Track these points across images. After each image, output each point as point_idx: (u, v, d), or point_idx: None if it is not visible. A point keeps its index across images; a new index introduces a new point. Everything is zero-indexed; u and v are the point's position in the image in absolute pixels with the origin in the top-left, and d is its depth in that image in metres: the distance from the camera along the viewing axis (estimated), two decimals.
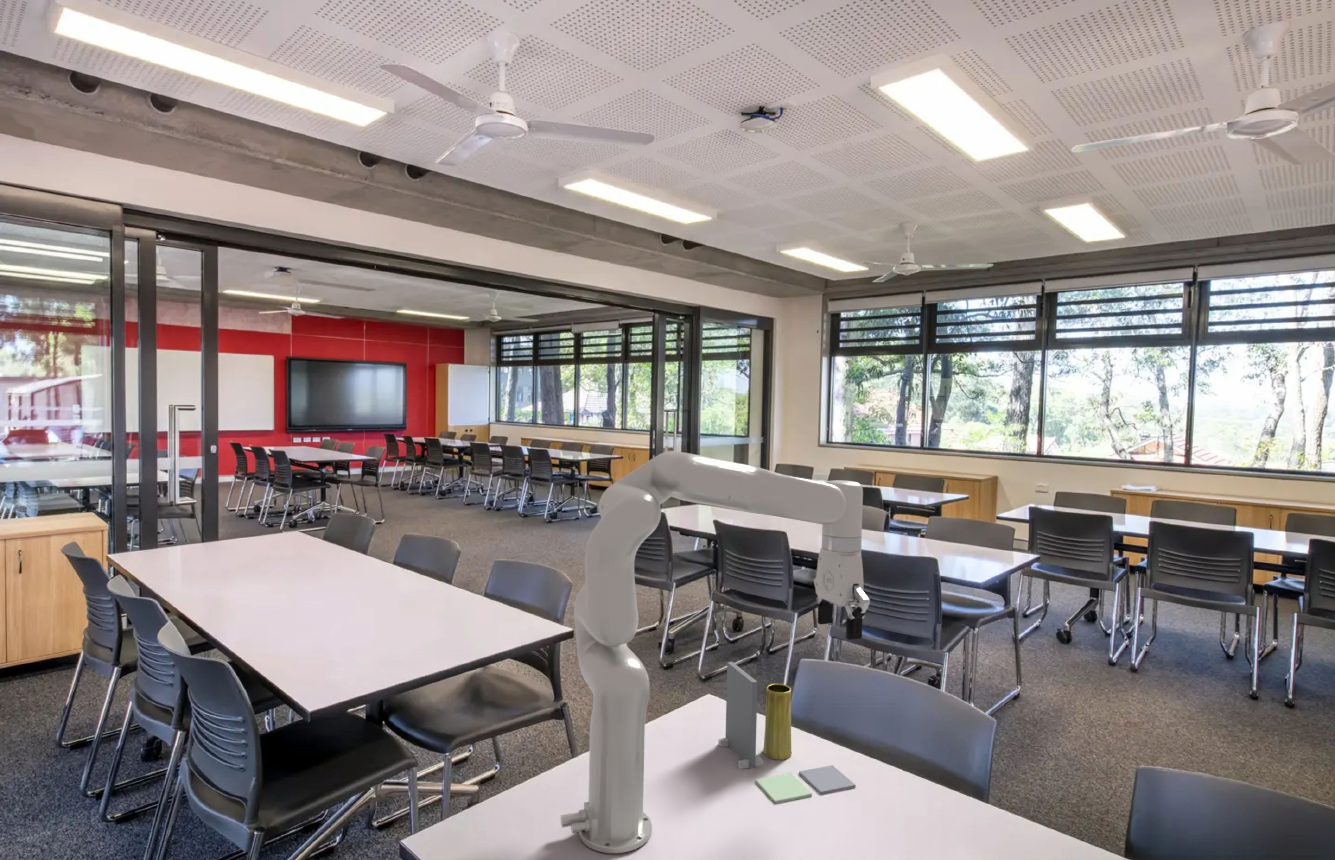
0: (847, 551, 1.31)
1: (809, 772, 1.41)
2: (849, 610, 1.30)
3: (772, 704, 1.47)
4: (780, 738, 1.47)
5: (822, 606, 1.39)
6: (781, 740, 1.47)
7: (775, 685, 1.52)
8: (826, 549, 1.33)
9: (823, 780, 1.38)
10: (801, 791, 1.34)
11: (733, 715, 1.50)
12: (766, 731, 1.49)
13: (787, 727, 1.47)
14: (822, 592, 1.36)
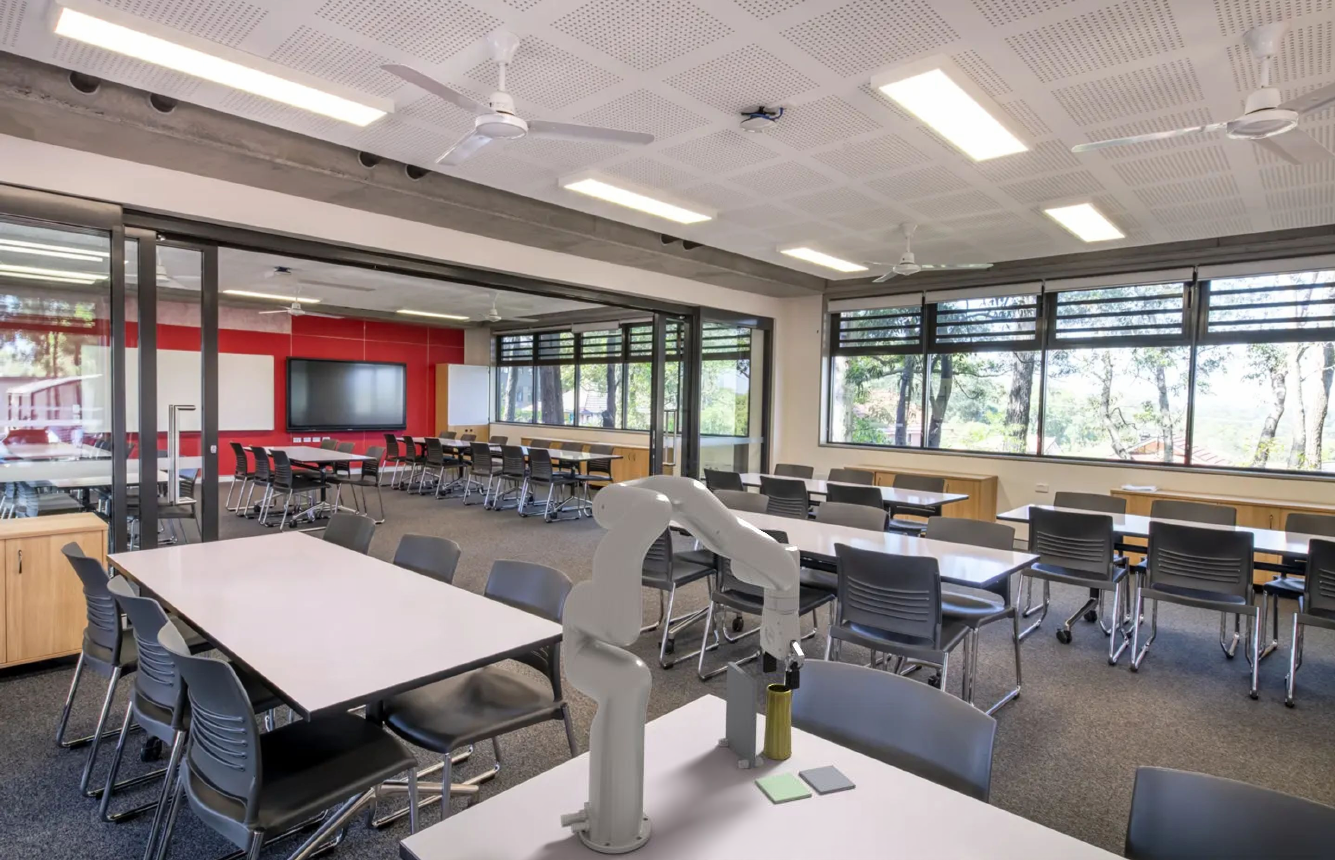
0: (785, 610, 1.45)
1: (809, 772, 1.41)
2: (787, 664, 1.44)
3: (772, 704, 1.47)
4: (780, 738, 1.47)
5: (766, 656, 1.53)
6: (781, 740, 1.47)
7: (775, 685, 1.52)
8: (767, 607, 1.47)
9: (823, 780, 1.38)
10: (801, 791, 1.34)
11: (733, 715, 1.50)
12: (766, 731, 1.49)
13: (787, 727, 1.47)
14: (765, 645, 1.50)
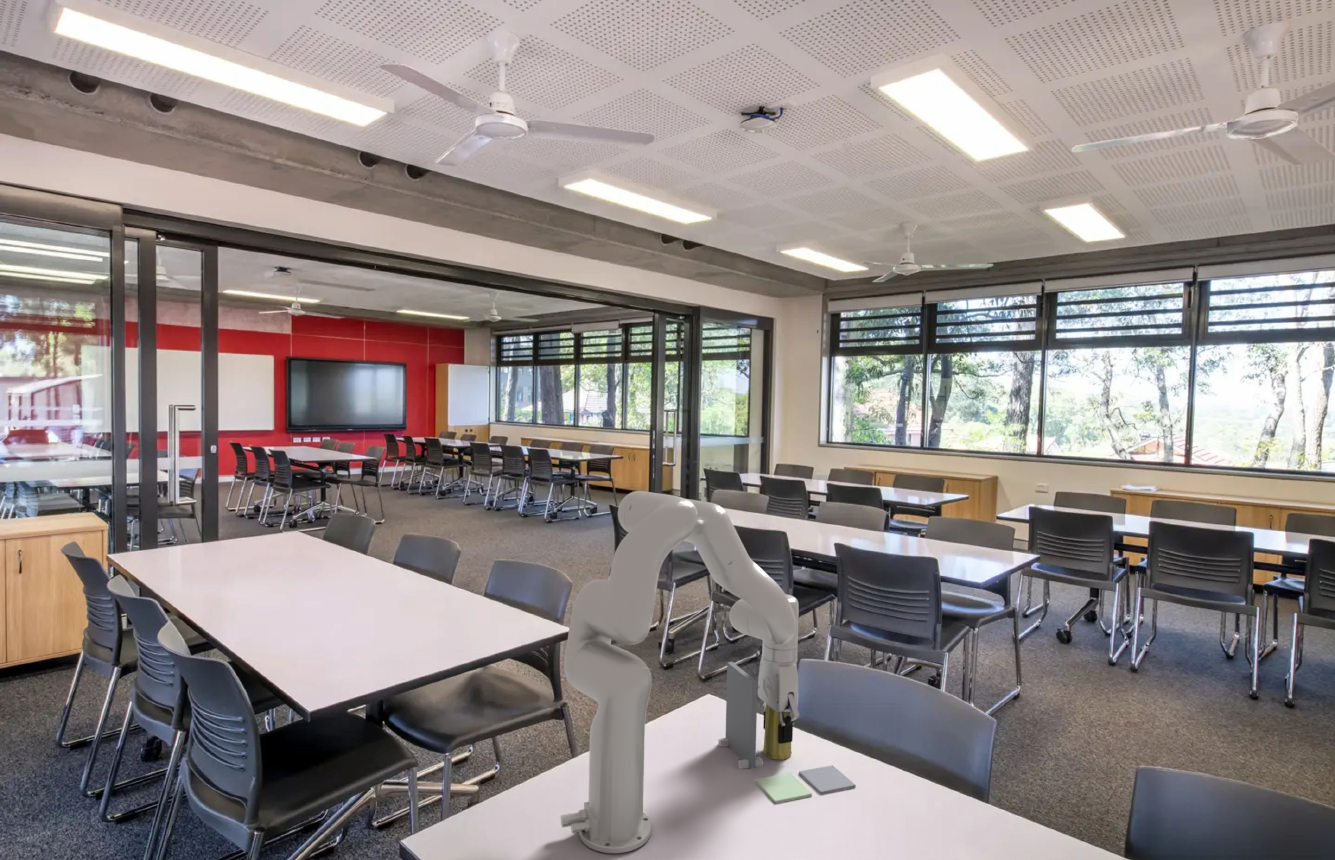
0: (783, 662, 1.45)
1: (809, 772, 1.41)
2: (781, 717, 1.45)
3: None
4: None
5: None
6: None
7: None
8: (765, 658, 1.47)
9: (823, 780, 1.38)
10: (801, 791, 1.34)
11: (733, 715, 1.50)
12: (766, 731, 1.49)
13: None
14: (762, 695, 1.50)
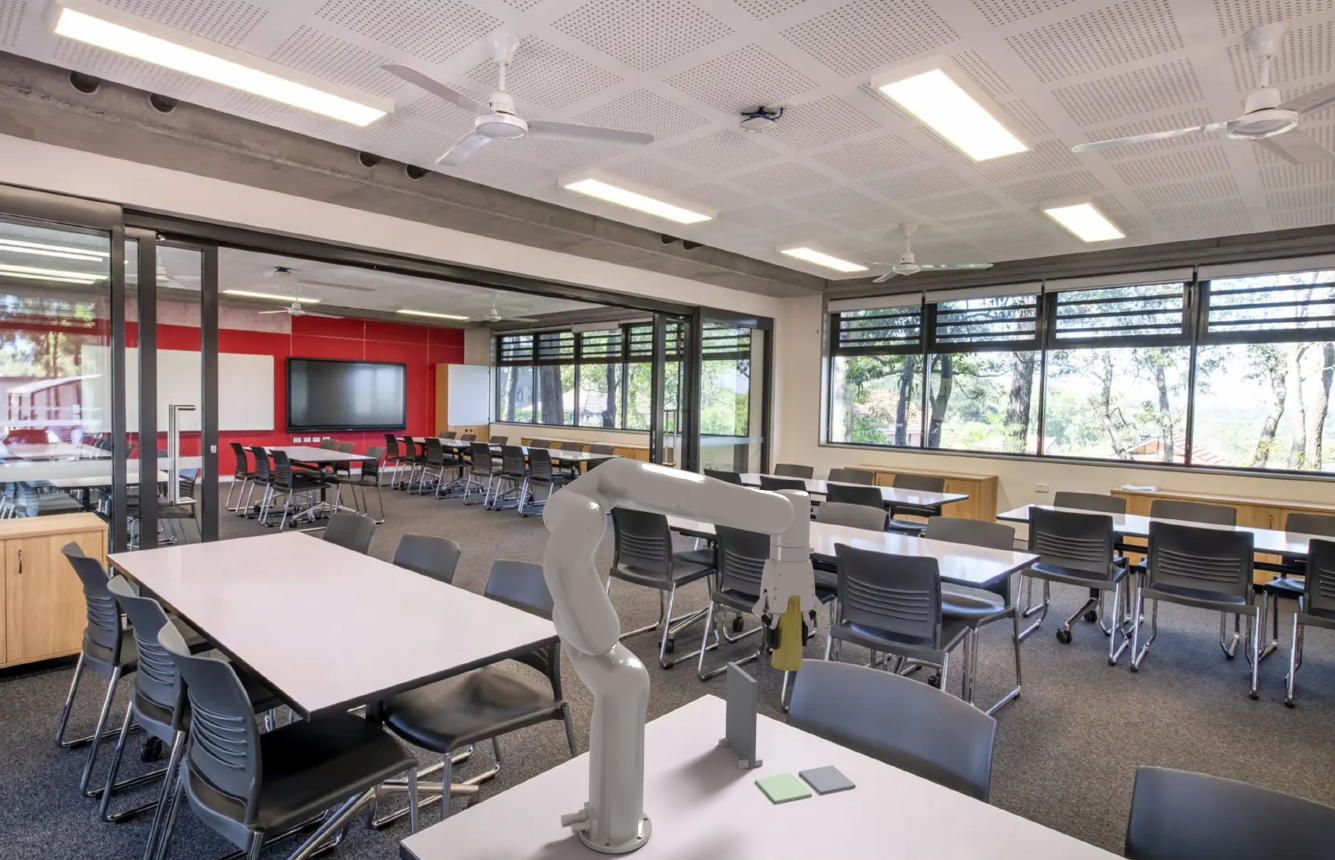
0: (770, 557, 1.34)
1: (809, 772, 1.41)
2: None
3: None
4: None
5: None
6: None
7: None
8: None
9: (823, 780, 1.38)
10: (801, 791, 1.34)
11: (733, 715, 1.50)
12: None
13: None
14: None
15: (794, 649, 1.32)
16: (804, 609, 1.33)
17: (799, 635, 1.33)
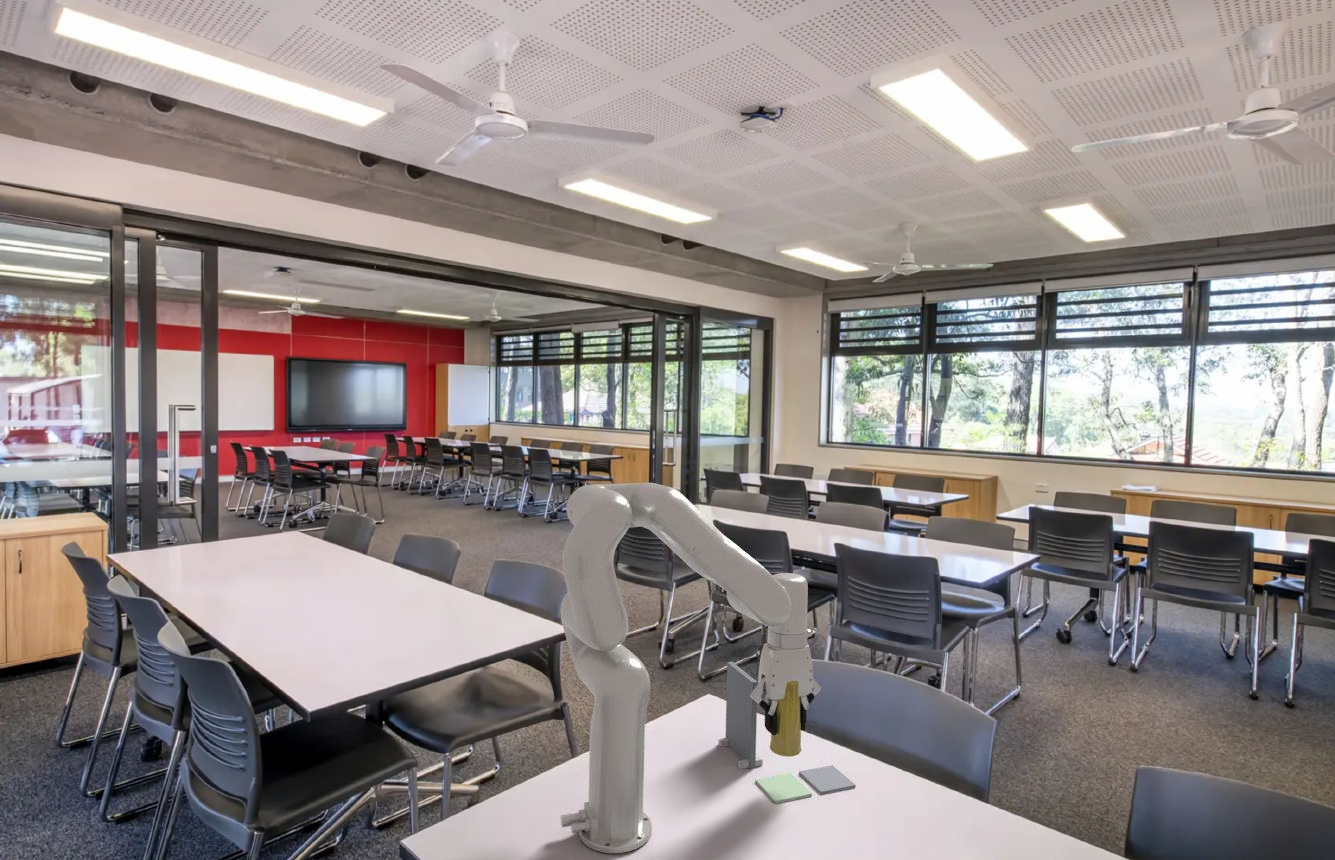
0: (768, 641, 1.34)
1: (809, 772, 1.41)
2: None
3: None
4: None
5: None
6: None
7: None
8: None
9: (823, 780, 1.38)
10: (801, 791, 1.34)
11: (733, 715, 1.50)
12: None
13: (777, 719, 1.33)
14: None
15: (792, 734, 1.32)
16: (802, 694, 1.34)
17: (797, 720, 1.33)
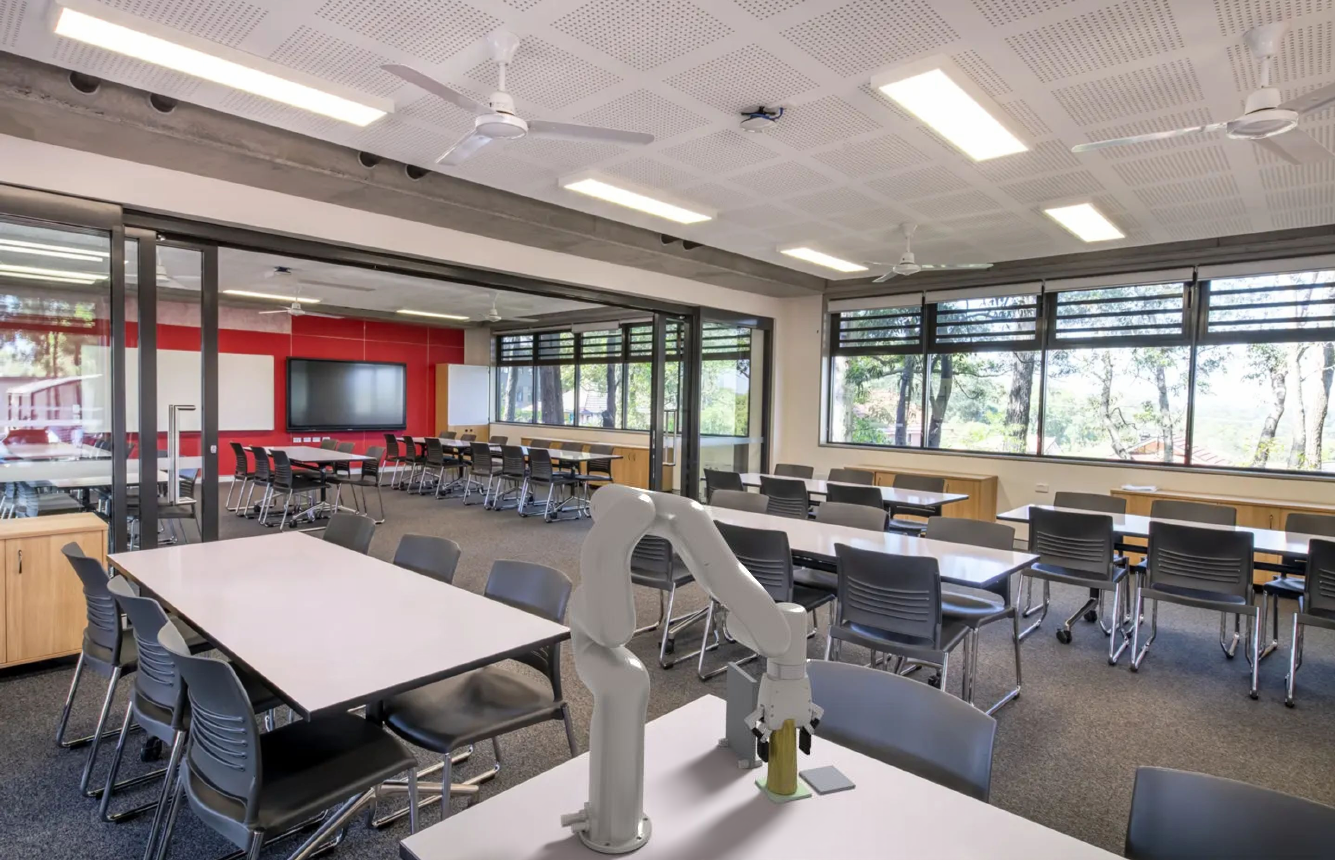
0: (767, 671, 1.35)
1: (809, 772, 1.41)
2: None
3: None
4: (768, 764, 1.35)
5: (800, 731, 1.38)
6: (769, 766, 1.35)
7: None
8: None
9: (823, 780, 1.38)
10: (801, 791, 1.34)
11: (733, 715, 1.50)
12: None
13: (773, 757, 1.33)
14: None
15: (789, 772, 1.32)
16: (801, 724, 1.34)
17: (794, 758, 1.33)
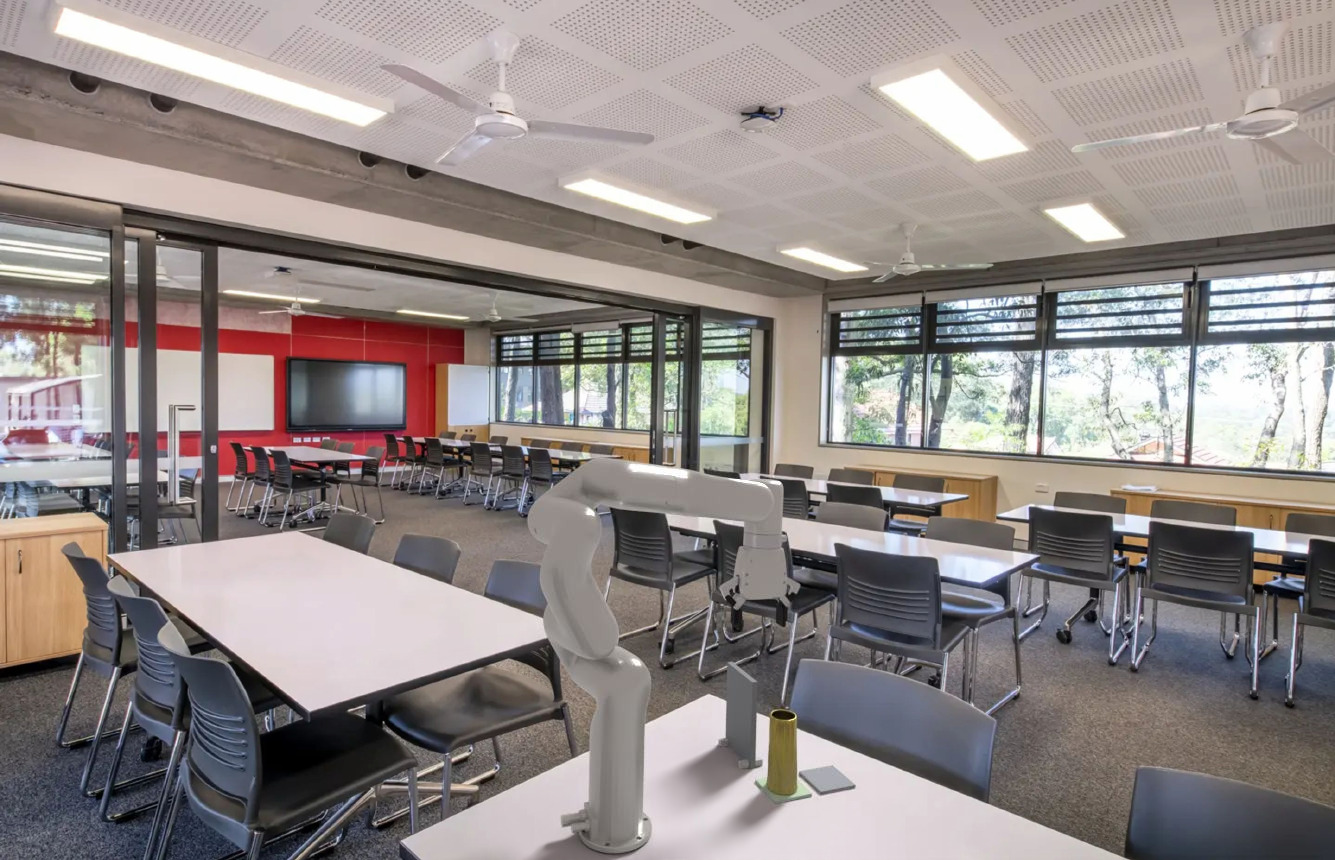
0: (743, 544, 1.38)
1: (809, 772, 1.41)
2: None
3: None
4: (768, 764, 1.35)
5: (777, 605, 1.40)
6: (769, 767, 1.35)
7: (794, 716, 1.35)
8: None
9: (823, 780, 1.38)
10: (801, 791, 1.34)
11: (733, 715, 1.50)
12: None
13: (773, 757, 1.33)
14: None
15: (789, 773, 1.32)
16: (775, 595, 1.37)
17: (794, 758, 1.33)
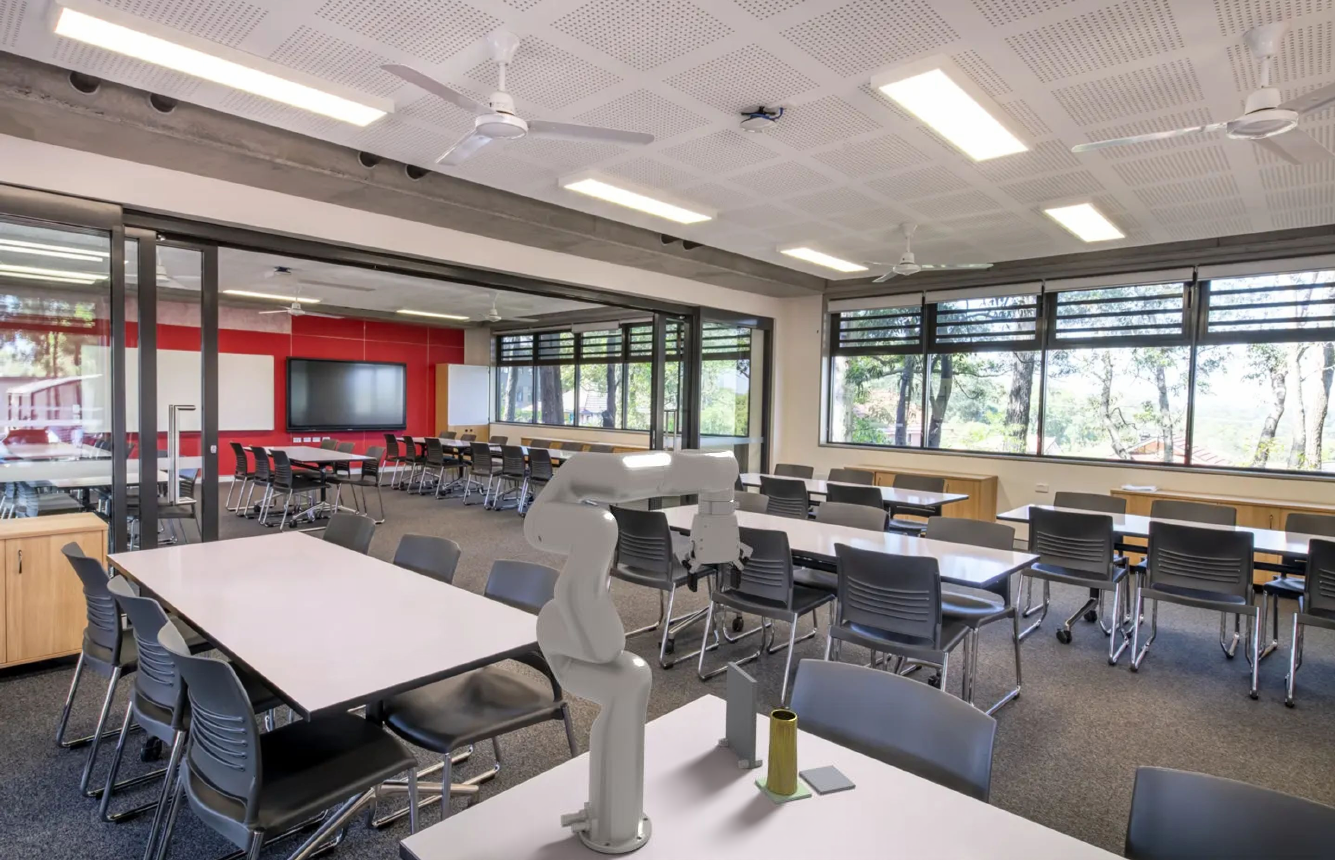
0: (698, 511, 1.45)
1: (809, 772, 1.41)
2: None
3: None
4: (769, 764, 1.35)
5: (731, 569, 1.48)
6: (769, 767, 1.35)
7: (795, 716, 1.35)
8: None
9: (823, 780, 1.38)
10: (801, 791, 1.34)
11: (733, 715, 1.50)
12: None
13: (773, 757, 1.33)
14: None
15: (789, 773, 1.32)
16: (729, 559, 1.44)
17: (794, 758, 1.33)
